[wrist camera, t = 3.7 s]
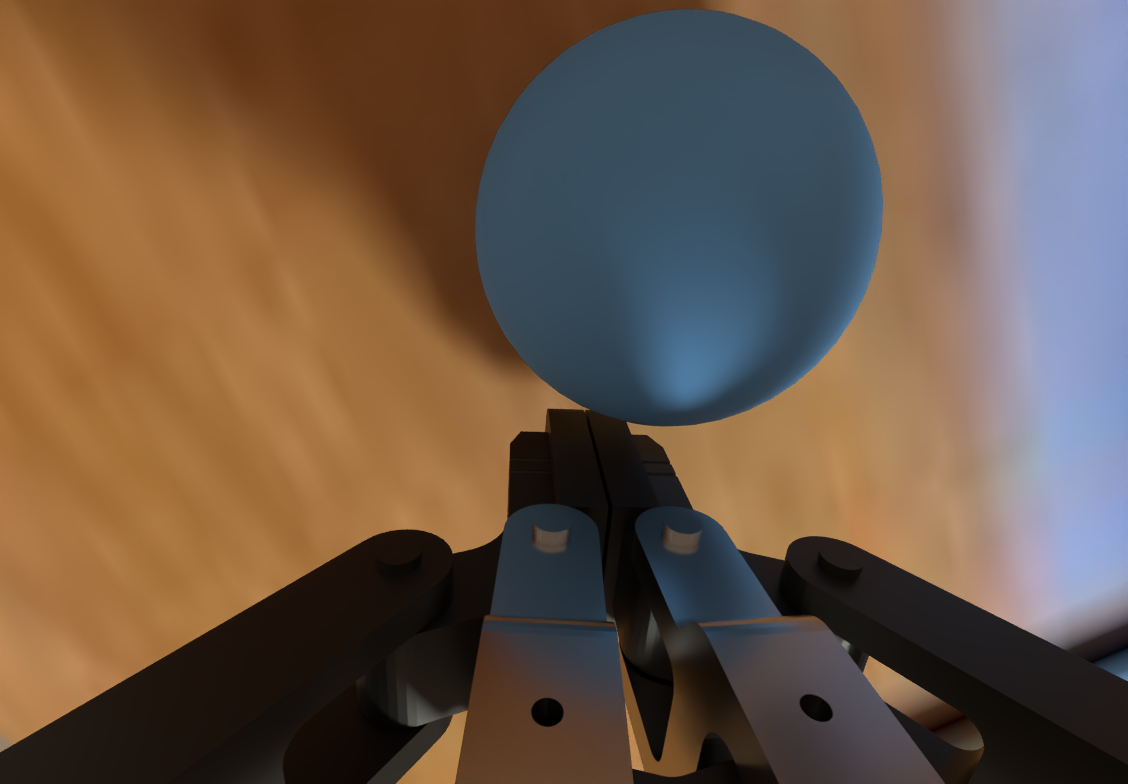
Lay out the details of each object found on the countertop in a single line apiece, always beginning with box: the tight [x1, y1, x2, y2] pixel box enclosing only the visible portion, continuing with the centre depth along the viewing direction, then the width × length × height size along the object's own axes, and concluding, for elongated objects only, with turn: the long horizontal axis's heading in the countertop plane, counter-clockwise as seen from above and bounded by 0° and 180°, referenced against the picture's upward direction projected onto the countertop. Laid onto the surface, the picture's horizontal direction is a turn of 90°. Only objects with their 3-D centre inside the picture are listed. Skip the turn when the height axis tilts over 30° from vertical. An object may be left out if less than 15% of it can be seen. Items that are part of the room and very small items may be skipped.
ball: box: [475, 9, 883, 426], centre depth 9 cm, size 6×6×6 cm
